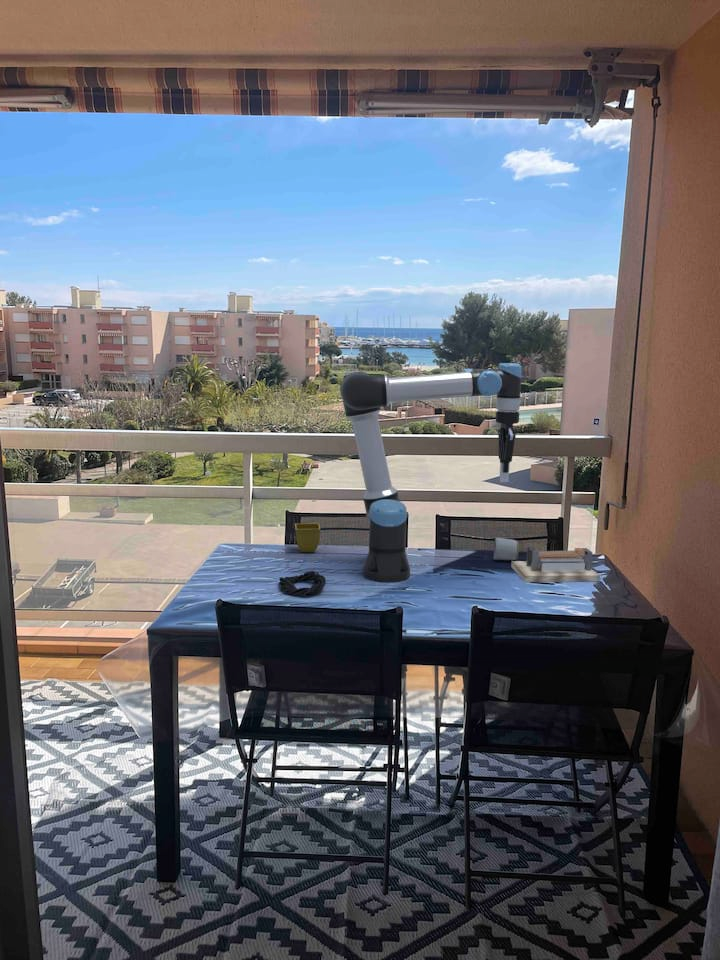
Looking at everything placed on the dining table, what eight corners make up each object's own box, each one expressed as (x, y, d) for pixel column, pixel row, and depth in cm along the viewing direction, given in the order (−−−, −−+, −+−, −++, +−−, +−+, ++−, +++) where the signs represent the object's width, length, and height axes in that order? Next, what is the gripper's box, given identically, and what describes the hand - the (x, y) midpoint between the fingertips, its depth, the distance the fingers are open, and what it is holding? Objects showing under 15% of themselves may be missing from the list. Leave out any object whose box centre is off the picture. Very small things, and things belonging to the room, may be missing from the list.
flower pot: (294, 547, 271) (294, 523, 269) (318, 547, 272) (319, 522, 270) (295, 554, 262) (295, 529, 260) (320, 553, 263) (320, 528, 261)
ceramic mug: (518, 563, 256) (519, 541, 255) (494, 562, 257) (495, 540, 256) (515, 555, 266) (516, 534, 265) (492, 554, 267) (493, 533, 266)
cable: (326, 599, 218) (326, 584, 217) (278, 599, 216) (278, 585, 216) (324, 580, 234) (324, 567, 234) (278, 581, 233) (278, 567, 232)
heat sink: (533, 573, 238) (535, 553, 237) (524, 563, 249) (525, 544, 248) (594, 572, 240) (595, 553, 239) (582, 563, 250) (583, 544, 249)
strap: (533, 558, 241) (533, 552, 241) (530, 555, 245) (530, 549, 244) (584, 557, 243) (584, 550, 242) (580, 554, 246) (580, 547, 246)
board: (525, 581, 236) (525, 575, 236) (511, 566, 252) (511, 561, 251) (599, 581, 238) (599, 575, 237) (580, 566, 254) (581, 560, 253)
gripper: (524, 412, 240) (520, 485, 244) (513, 409, 253) (509, 478, 257) (501, 412, 239) (497, 485, 243) (491, 408, 252) (488, 478, 256)
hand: (503, 481), depth 250 cm, fingers closed
